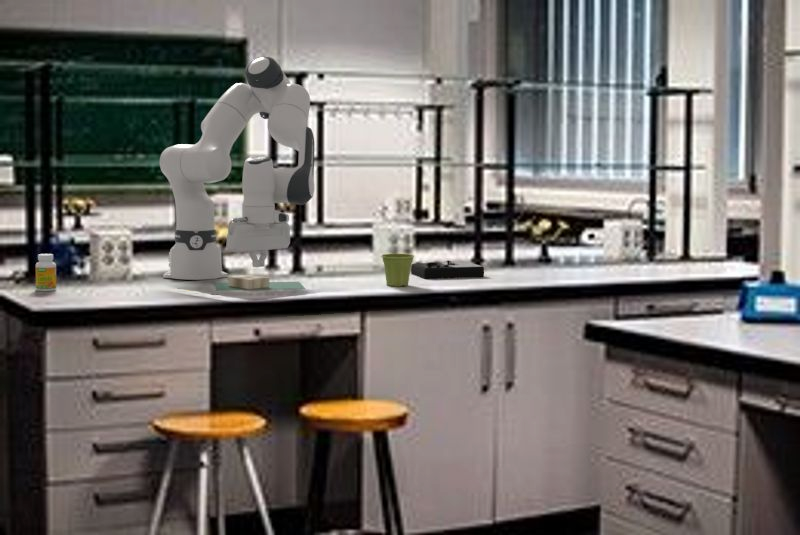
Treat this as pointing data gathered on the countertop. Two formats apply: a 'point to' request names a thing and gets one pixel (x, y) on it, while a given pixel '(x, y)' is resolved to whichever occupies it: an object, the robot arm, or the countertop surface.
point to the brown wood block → (248, 282)
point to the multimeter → (447, 270)
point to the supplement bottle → (45, 273)
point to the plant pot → (397, 268)
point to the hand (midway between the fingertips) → (258, 266)
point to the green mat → (271, 287)
